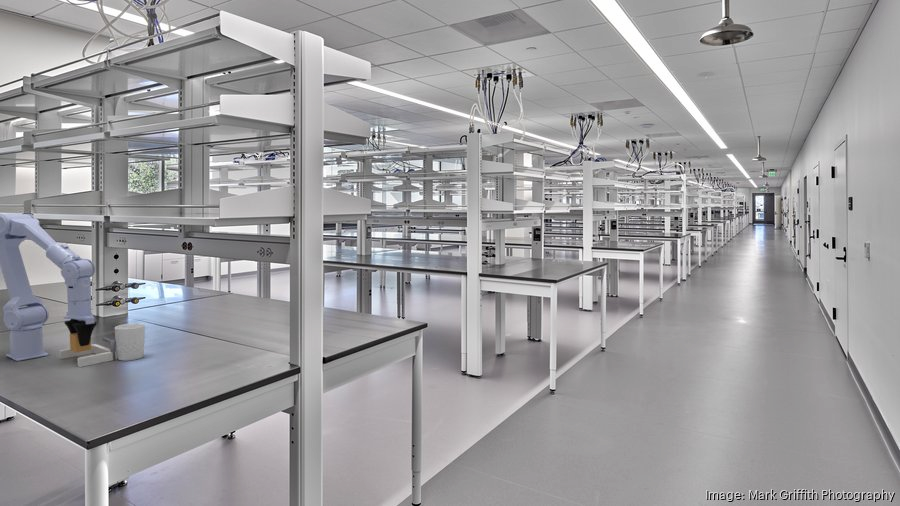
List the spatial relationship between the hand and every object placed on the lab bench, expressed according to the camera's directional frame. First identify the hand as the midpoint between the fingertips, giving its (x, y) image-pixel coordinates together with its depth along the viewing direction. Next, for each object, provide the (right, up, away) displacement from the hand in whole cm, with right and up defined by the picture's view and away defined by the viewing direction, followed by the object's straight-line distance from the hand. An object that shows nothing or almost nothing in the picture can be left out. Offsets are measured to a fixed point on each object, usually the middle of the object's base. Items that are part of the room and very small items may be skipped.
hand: (81, 344), depth 152 cm
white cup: (+13, -5, +4) cm, 14 cm away
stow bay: (0, -5, +1) cm, 5 cm away
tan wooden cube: (0, -2, 0) cm, 2 cm away
